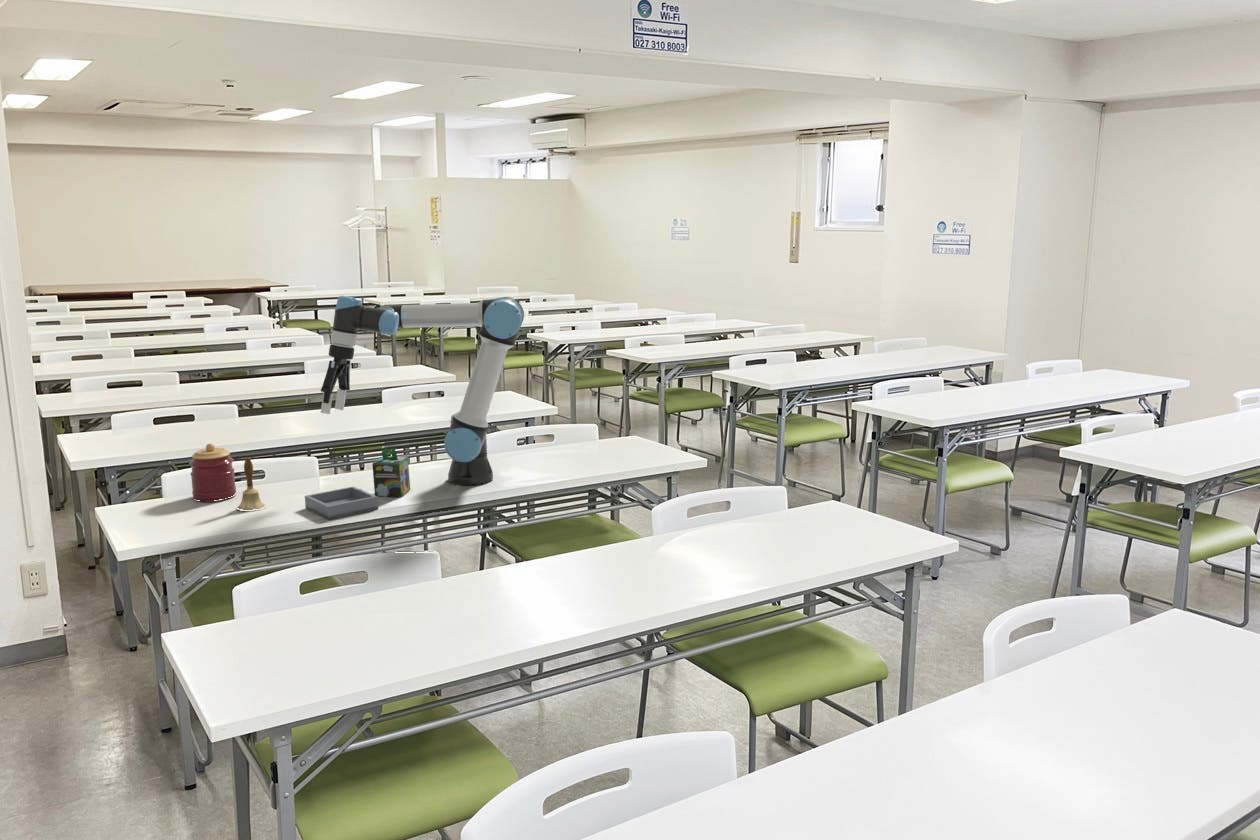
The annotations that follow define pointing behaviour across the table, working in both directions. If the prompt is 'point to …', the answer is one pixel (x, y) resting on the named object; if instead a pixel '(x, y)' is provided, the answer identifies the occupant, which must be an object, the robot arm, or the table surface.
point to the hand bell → (250, 490)
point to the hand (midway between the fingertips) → (332, 411)
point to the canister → (212, 474)
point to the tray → (341, 502)
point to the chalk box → (391, 475)
